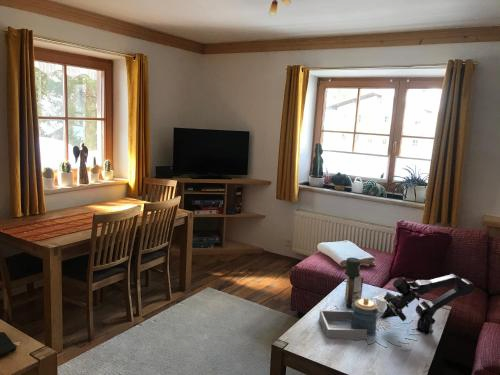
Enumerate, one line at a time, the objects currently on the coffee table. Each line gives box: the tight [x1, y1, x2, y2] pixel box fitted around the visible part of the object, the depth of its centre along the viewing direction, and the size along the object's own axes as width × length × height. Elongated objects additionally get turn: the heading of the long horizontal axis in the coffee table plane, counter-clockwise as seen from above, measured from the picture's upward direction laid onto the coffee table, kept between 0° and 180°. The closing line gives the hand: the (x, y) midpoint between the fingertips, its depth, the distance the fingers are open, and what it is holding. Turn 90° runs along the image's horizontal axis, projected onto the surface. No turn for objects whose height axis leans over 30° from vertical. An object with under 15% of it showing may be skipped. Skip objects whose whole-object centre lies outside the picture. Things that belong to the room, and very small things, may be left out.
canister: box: [350, 297, 379, 336], centre depth 212 cm, size 13×13×18 cm
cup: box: [370, 294, 388, 314], centre depth 235 cm, size 7×10×8 cm
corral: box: [318, 309, 368, 340], centre depth 212 cm, size 20×20×5 cm
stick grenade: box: [344, 257, 361, 310], centre depth 234 cm, size 8×9×30 cm
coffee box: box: [344, 275, 364, 304], centre depth 246 cm, size 9×6×16 cm
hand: (382, 317), depth 213 cm, fingers closed
